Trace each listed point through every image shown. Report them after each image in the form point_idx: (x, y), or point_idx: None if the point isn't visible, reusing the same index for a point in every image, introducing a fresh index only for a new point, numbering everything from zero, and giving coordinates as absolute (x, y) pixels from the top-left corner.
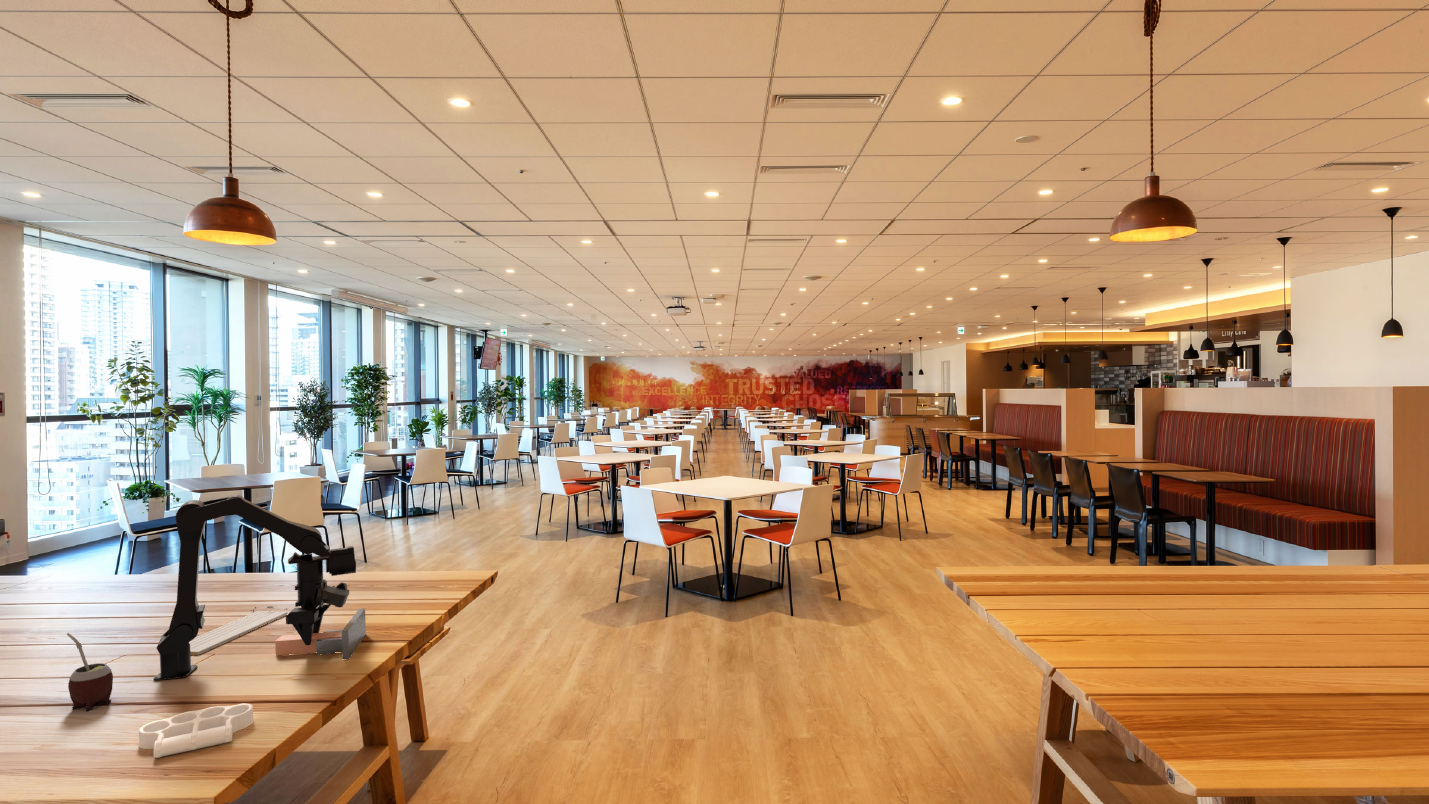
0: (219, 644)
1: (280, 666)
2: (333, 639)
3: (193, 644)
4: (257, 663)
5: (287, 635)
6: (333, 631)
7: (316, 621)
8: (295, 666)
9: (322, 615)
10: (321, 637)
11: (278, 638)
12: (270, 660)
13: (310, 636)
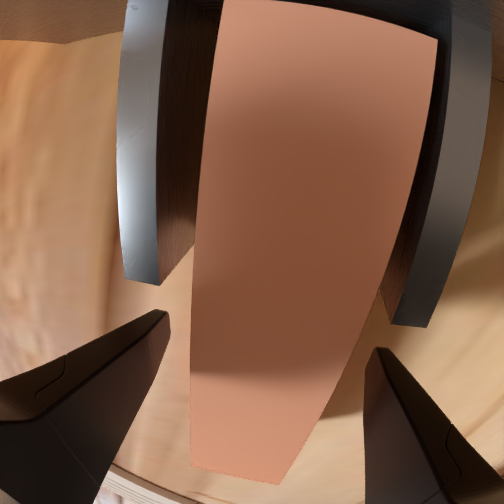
0: (136, 479)
1: (449, 393)
2: (471, 171)
3: (145, 500)
4: (348, 452)
5: (196, 454)
6: (156, 195)
7: (102, 407)
8: (496, 340)
9: (30, 397)
10: (360, 299)
11: (237, 476)
12: (340, 431)
13: (430, 401)
